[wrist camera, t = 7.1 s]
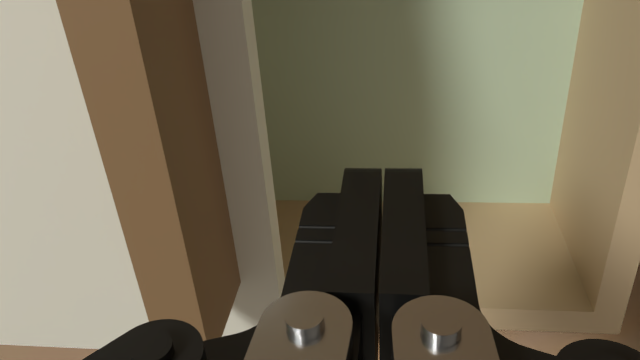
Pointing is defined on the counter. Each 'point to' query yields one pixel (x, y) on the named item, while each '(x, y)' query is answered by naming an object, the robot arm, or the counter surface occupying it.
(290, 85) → the mailer box
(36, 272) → the lid
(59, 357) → the counter surface
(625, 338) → the counter surface
